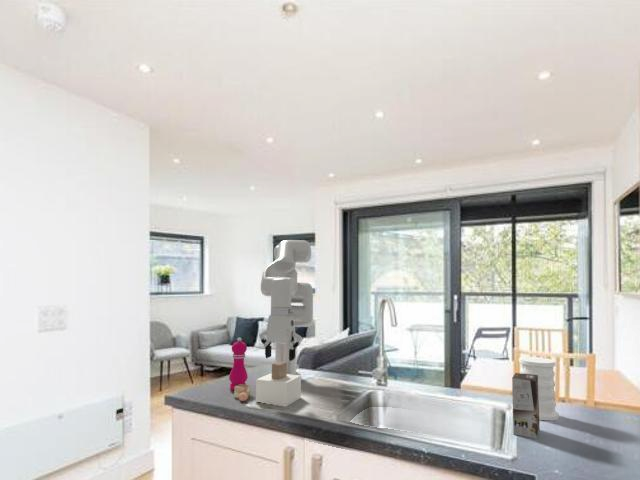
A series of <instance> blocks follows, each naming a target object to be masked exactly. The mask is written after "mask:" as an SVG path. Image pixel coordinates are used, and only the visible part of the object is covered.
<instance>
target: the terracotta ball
mask: <svg viewBox="0 0 640 480" xmlns="http://www.w3.org/2000/svg"><path fill="white" fill-rule="evenodd" d="M248 397H249V396H247V394H246V393H245V392H243V393H241V394H240V395H239V398H238V399H239V401H241V402H246V401H247V399H248Z"/></svg>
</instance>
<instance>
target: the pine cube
mask: <svg viewBox="0 0 640 480" xmlns="http://www.w3.org/2000/svg"><path fill="white" fill-rule="evenodd" d="M250 386H251V385H249V384H246V385H243V384H240V385H237V386H235V387H234V390H233V391H234V392H233V393H234V394H233V398H234V397H235V399H239V395H240V394H241V393H243V392H245V393H246V394H247V396H248V397H249V396H250Z"/></svg>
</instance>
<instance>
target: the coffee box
mask: <svg viewBox="0 0 640 480" xmlns="http://www.w3.org/2000/svg"><path fill="white" fill-rule="evenodd" d="M511 385H512V387H511V390H512V392H511V393H512V422H513V423H512V424H513V425H512V427H513V429H512V431H513V432H512V434H513V435H516V436H520V437H527V438H530V439H534V440H537V439H538V436H539V433H540V420H539V398H538V375H533V374H522V373H521V372H515V373H514V375H513V376H512V383H511Z"/></svg>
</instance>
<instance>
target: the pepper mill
mask: <svg viewBox="0 0 640 480" xmlns="http://www.w3.org/2000/svg"><path fill="white" fill-rule="evenodd" d="M236 340H237V341H236V342H234V343H232V346H231V352H232V359H233V365H232V368H231V370H230V373H229V375H228V376H229V377H228V380H229V382H231V383H230V385H229V389H230V390H231V391H234V387H235V386H237V385H240V384H243V385H247V383H246V381H247V380H248V372H247V369H246V367H245V358H246V351H247V349H248V347H247V344H246V343H245V342H244V341H242V340H243V338H241V337H237V339H236Z"/></svg>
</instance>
